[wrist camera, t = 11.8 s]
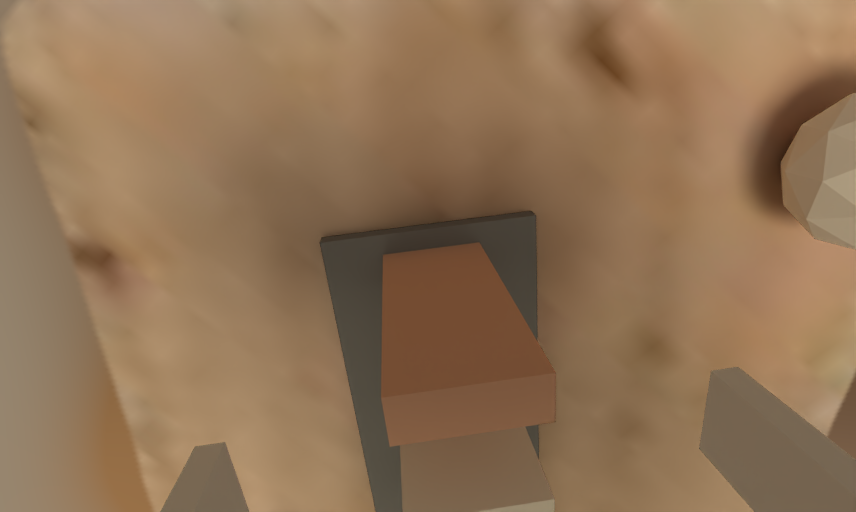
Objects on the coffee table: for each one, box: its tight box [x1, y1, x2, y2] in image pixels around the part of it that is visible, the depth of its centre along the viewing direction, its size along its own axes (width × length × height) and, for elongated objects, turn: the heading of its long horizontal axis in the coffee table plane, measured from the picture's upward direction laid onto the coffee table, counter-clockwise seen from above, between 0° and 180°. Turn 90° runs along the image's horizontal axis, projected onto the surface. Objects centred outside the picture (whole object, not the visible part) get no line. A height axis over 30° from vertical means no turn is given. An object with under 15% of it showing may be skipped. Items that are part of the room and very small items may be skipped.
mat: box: [320, 211, 539, 512], centre depth 27 cm, size 26×11×1 cm, turn 6°
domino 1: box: [381, 242, 556, 447], centre depth 18 cm, size 2×5×11 cm, turn 96°
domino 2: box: [400, 427, 555, 512], centre depth 20 cm, size 2×5×11 cm, turn 96°
